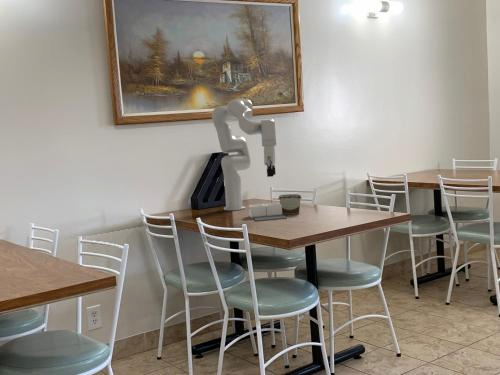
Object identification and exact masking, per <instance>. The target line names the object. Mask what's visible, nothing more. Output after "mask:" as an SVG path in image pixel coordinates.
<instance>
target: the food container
mask: <svg viewBox="0 0 500 375" xmlns="http://www.w3.org/2000/svg"><path fill="white" fill-rule="evenodd" d="M278 200H279V203H280V204H282V214H283V215H299V214H300V210H301V209H300V207H301V200H302V196H301V194H297V193H296V194H294V193H293V194H291V193H289V194H280V195H278Z"/></svg>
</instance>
